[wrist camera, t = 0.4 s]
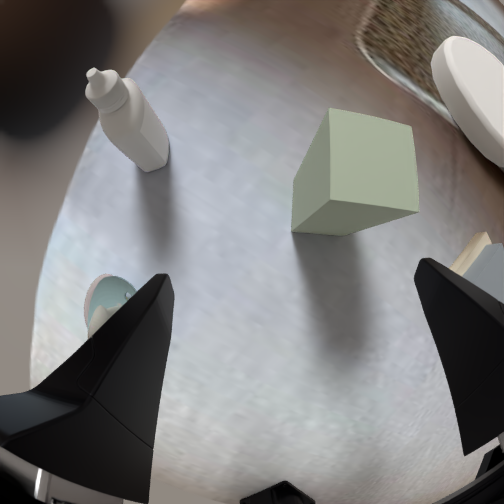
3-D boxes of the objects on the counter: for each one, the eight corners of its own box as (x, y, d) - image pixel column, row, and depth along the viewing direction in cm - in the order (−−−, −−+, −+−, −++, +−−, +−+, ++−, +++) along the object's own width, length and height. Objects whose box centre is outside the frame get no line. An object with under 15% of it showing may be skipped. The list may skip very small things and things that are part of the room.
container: (471, 175, 24) (496, 164, 19) (405, 41, 24) (419, 21, 20) (534, 165, 24) (552, 159, 19) (484, 59, 25) (497, 47, 20)
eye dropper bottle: (182, 121, 24) (140, 36, 12) (164, 176, 23) (99, 111, 11) (142, 118, 24) (86, 43, 12) (123, 170, 23) (47, 113, 11)
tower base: (500, 299, 24) (513, 300, 21) (455, 358, 23) (468, 364, 21) (472, 233, 24) (486, 231, 21) (422, 293, 24) (436, 295, 21)
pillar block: (343, 185, 23) (411, 126, 11) (342, 236, 23) (419, 212, 11) (293, 179, 23) (328, 107, 11) (290, 231, 23) (330, 199, 11)
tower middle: (507, 301, 21) (521, 303, 18) (470, 351, 21) (484, 357, 18) (486, 244, 21) (501, 243, 19) (446, 294, 21) (462, 297, 19)
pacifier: (82, 331, 23) (132, 358, 23) (43, 344, 17) (98, 380, 16) (98, 261, 23) (151, 284, 23) (56, 259, 17) (116, 290, 17)
